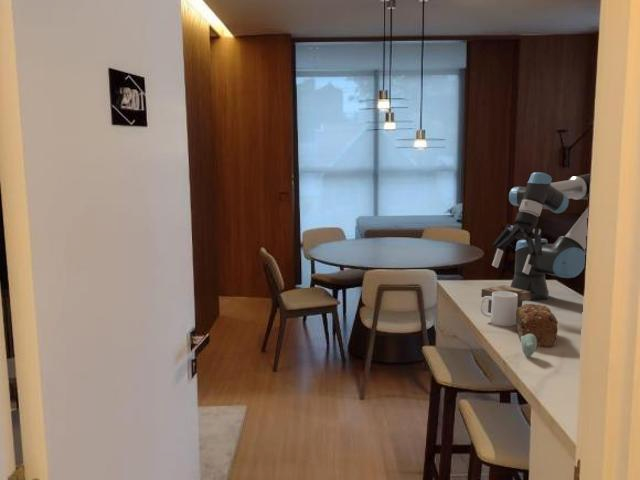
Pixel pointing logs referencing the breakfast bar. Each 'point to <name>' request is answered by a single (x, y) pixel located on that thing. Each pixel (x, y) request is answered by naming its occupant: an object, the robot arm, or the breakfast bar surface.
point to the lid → (522, 294)
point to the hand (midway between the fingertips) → (509, 269)
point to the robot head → (528, 344)
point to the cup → (501, 308)
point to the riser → (491, 304)
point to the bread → (537, 324)
